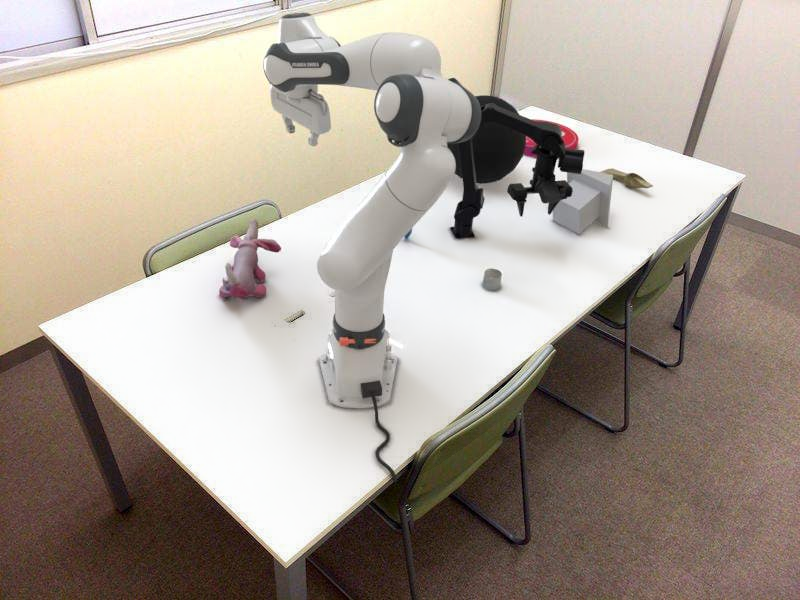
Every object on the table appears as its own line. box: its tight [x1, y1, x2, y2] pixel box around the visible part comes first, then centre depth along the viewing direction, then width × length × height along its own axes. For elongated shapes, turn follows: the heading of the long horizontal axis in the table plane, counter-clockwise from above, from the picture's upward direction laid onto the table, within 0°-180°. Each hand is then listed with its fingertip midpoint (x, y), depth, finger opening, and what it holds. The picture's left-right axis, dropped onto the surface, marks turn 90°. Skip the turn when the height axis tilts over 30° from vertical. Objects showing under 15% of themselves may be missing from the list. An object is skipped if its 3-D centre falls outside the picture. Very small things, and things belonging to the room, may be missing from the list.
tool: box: [601, 167, 654, 189], centre depth 240 cm, size 22×6×5 cm, turn 26°
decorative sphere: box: [447, 94, 526, 185], centre depth 230 cm, size 30×30×30 cm
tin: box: [482, 268, 503, 292], centre depth 186 cm, size 5×5×4 cm
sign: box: [523, 118, 579, 159], centre depth 266 cm, size 30×4×30 cm
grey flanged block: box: [552, 168, 614, 235], centre depth 214 cm, size 17×24×18 cm
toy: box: [218, 218, 282, 301], centre depth 179 cm, size 19×24×15 cm
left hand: (301, 138), depth 165 cm, fingers open, 8 cm apart
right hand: (534, 215), depth 200 cm, fingers open, 9 cm apart
